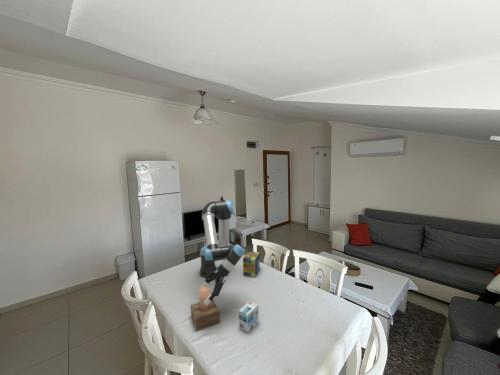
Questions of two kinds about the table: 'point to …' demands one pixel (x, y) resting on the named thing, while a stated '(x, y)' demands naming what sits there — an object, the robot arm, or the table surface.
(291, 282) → the table surface
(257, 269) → the protein box
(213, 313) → the walnut box
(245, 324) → the light bulb box
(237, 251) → the robot arm
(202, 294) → the terracotta canister
